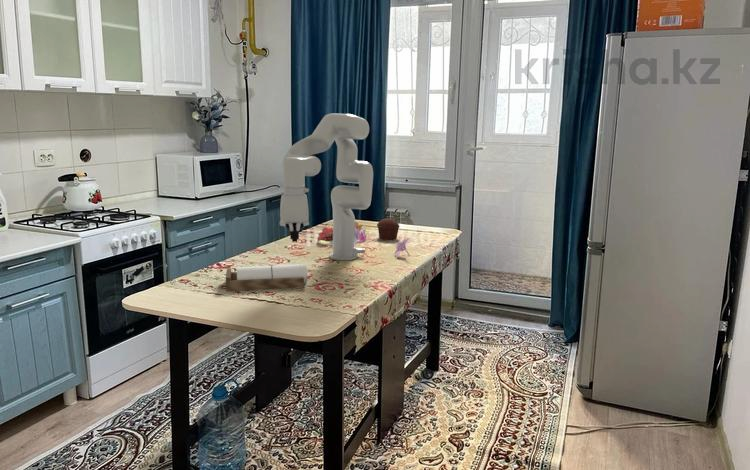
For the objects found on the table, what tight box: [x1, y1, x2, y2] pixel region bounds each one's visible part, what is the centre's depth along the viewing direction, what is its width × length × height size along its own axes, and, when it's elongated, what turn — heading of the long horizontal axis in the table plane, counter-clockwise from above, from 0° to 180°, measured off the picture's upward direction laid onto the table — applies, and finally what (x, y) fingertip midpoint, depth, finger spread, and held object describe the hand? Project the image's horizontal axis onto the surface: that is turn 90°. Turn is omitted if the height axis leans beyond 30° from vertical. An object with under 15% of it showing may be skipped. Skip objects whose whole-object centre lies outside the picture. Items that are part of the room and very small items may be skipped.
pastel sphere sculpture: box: [316, 220, 367, 247], centre depth 278 cm, size 25×24×9 cm
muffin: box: [376, 217, 400, 241], centre depth 284 cm, size 12×11×10 cm
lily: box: [393, 236, 411, 260], centre depth 251 cm, size 11×11×9 cm
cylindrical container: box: [236, 263, 308, 284], centre depth 207 cm, size 7×7×25 cm
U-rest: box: [225, 267, 305, 292], centre depth 208 cm, size 28×12×5 cm, turn 102°
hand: (294, 241), depth 207 cm, fingers closed
